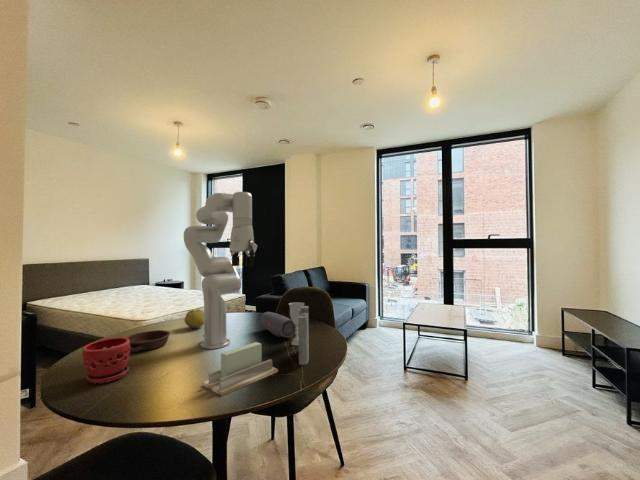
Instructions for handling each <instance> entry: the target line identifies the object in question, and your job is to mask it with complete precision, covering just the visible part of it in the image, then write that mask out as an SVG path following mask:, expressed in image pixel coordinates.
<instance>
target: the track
mask: <svg viewBox="0 0 640 480" xmlns="http://www.w3.org/2000/svg"><path fill="white" fill-rule="evenodd" d="M278 372H279V368H276V367H274V366H273V359H272V358H270V359H267V360H264V361H262V362H261V363H259V364H256V365H254V366H251V367H248V368H246V369H243V370H240V371H238V372H235V373H232V374H230V375H227V376H225V377H222V378H221V368H219V369H217V370H213V371H211V372H208V379H207V380H205V381H202V386H203V387H205V388H207V389H209V390H211V391H212V392H214V394H215V393H216V394H218V395H219V396H221V397H223V396H225V395H228V394H231V393H232V392H235V391H237V390H239V389H242V388H243V387H246V386H248V385H251V384H253V383H255V382H258V381H261V380H262V379H264V378H265V379H266V378H267V377H269V376H271V375H274V374H276V373H278Z"/></svg>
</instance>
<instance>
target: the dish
mask: <svg viewBox="0 0 640 480" xmlns="http://www.w3.org/2000/svg"><path fill="white" fill-rule="evenodd" d="M170 335H171V332H170V331H169V330H161V329H160V330H157V329H156V330H148V331H142V332H137V333H134V334H131V335H129V336H127V337H126V338H128V339H129V340H130V352H131V353H137V352H141V351H140V350H144V351H151V350H155V349H158V348H161V347H163V346H164V345H166V344H167V342H168V340H169V336H170ZM150 349H151V350H150Z"/></svg>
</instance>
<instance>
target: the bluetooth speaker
mask: <svg viewBox="0 0 640 480" xmlns="http://www.w3.org/2000/svg"><path fill="white" fill-rule="evenodd" d="M259 323H260V325H261V326H262V327H263V328H264V329H265V330H268V331H269V332H270V334H272V335H274V336H275V337H277V338H290V337H292V336H294V334H295V332H296V329H295V328H296V324H294V323H293V321H292V319H291V318H289V317H286V316H284V315H282V314H278V313H276V312H272V311H266V312H264V313H262V315H261V316H260V318H259Z"/></svg>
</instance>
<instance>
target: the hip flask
mask: <svg viewBox="0 0 640 480" xmlns="http://www.w3.org/2000/svg"><path fill="white" fill-rule="evenodd" d="M309 308H310V307H309V305H304V306H301V307H300V309H299V317H298V320H299V324H298V328H299V329H298V332H299V333H298V337H299V345H298V364H299V365H300V366H306V365H308V363H309V360H310V350H309V349H310V344H309V343H310V341H309V339H310V335H309V333H310V332H309V331H310V330H309Z"/></svg>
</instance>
